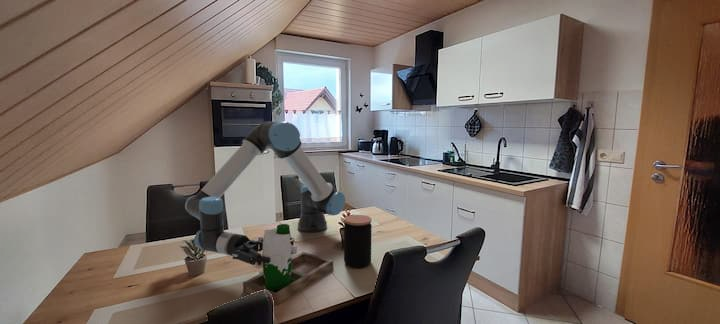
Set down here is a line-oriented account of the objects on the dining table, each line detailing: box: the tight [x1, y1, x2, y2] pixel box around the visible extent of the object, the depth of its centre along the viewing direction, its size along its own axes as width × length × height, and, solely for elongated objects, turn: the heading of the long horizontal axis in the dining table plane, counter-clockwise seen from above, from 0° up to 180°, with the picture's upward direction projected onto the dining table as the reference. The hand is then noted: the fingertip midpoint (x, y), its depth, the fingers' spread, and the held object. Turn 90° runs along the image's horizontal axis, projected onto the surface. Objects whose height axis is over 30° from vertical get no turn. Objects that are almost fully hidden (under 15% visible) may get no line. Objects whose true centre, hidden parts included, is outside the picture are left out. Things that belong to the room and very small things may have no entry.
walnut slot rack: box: [242, 251, 334, 306], centre depth 106 cm, size 28×15×3 cm, turn 148°
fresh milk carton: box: [262, 223, 292, 291], centre depth 100 cm, size 9×9×20 cm
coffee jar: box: [343, 214, 372, 269], centre depth 118 cm, size 11×11×18 cm
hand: (288, 255), depth 97 cm, fingers closed on fresh milk carton, 8 cm apart
